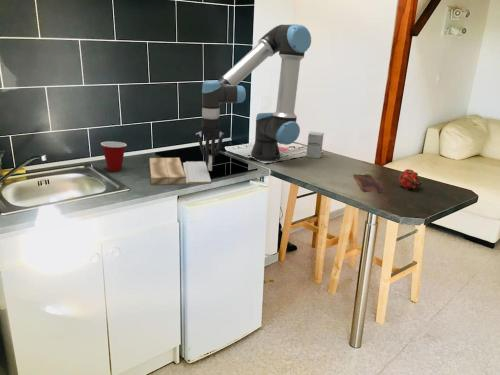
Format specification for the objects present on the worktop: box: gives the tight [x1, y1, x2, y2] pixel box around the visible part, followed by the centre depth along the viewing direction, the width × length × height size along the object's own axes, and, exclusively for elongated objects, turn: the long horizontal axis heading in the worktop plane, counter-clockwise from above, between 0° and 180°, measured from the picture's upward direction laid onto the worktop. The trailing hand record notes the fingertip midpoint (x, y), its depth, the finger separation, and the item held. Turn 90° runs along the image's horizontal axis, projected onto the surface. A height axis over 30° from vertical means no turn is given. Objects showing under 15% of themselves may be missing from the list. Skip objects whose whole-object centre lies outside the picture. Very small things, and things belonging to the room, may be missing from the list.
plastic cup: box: [100, 141, 127, 172], centre depth 188 cm, size 11×11×12 cm
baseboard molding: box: [181, 158, 212, 185], centre depth 191 cm, size 31×3×12 cm
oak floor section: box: [149, 157, 187, 186], centre depth 187 cm, size 14×30×3 cm, turn 14°
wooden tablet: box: [353, 173, 387, 194], centre depth 188 cm, size 26×2×10 cm
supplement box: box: [306, 131, 325, 159], centre depth 227 cm, size 7×7×13 cm
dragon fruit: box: [398, 168, 422, 190], centre depth 184 cm, size 8×8×12 cm
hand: (209, 169), depth 192 cm, fingers closed
